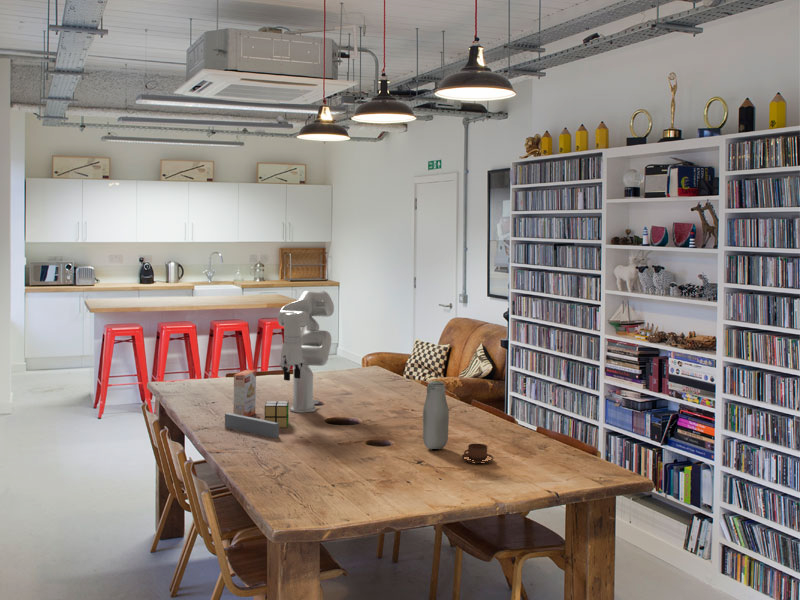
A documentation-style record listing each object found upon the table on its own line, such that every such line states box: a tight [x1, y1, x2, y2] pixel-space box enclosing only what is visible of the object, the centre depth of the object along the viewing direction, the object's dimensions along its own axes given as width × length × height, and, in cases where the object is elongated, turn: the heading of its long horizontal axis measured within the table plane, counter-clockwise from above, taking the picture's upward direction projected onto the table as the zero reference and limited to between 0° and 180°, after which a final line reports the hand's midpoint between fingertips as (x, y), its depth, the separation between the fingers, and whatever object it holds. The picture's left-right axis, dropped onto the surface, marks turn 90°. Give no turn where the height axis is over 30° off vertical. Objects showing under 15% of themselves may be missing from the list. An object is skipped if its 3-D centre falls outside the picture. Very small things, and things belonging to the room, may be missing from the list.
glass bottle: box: [422, 380, 450, 450], centre depth 333 cm, size 10×10×28 cm
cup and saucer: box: [461, 443, 494, 464], centre depth 318 cm, size 12×12×6 cm
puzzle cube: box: [264, 400, 290, 429], centre depth 369 cm, size 10×10×10 cm
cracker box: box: [232, 369, 257, 417], centre depth 384 cm, size 14×6×21 cm, turn 168°
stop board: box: [224, 412, 280, 439], centre depth 356 cm, size 2×30×6 cm, turn 55°
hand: (292, 378), depth 376 cm, fingers open, 6 cm apart
